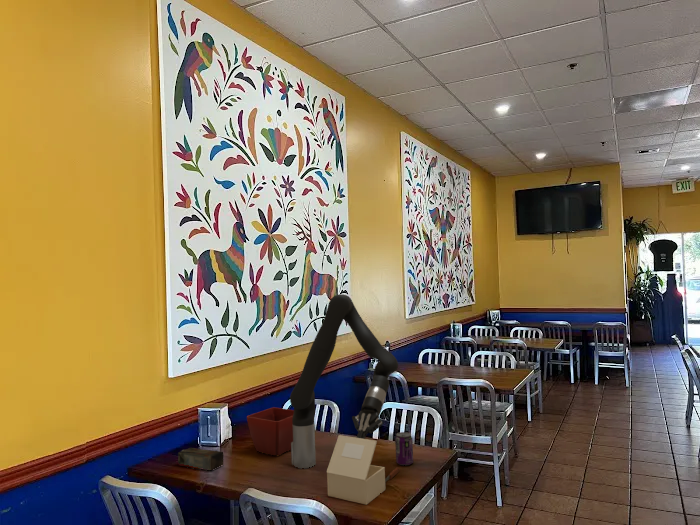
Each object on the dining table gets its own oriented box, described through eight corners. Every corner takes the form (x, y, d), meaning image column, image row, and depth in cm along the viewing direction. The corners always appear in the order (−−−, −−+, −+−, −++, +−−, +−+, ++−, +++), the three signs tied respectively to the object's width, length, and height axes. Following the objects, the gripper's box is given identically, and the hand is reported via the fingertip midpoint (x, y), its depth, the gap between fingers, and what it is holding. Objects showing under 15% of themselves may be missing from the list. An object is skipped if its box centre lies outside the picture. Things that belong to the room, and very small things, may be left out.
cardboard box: (327, 495, 180) (327, 473, 181) (348, 481, 192) (347, 460, 193) (366, 504, 172) (365, 480, 172) (385, 489, 184) (384, 467, 184)
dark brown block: (190, 460, 223) (190, 445, 223) (224, 466, 215) (224, 450, 215) (177, 466, 216) (177, 450, 216) (212, 472, 208) (211, 456, 208)
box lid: (327, 472, 181) (326, 472, 180) (339, 435, 189) (338, 434, 188) (365, 480, 172) (364, 479, 172) (377, 441, 180) (376, 440, 180)
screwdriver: (396, 471, 201) (396, 466, 202) (400, 471, 201) (399, 466, 201) (380, 486, 188) (380, 480, 188) (384, 486, 187) (383, 481, 187)
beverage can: (412, 466, 205) (411, 437, 206) (395, 466, 207) (394, 436, 207) (413, 460, 212) (412, 432, 213) (397, 460, 214) (396, 431, 214)
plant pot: (305, 447, 234) (304, 411, 235) (278, 460, 218) (277, 421, 219) (274, 441, 245) (273, 406, 245) (246, 453, 229) (245, 416, 229)
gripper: (355, 394, 198) (340, 434, 187) (385, 397, 191) (371, 439, 180) (363, 404, 202) (348, 444, 191) (392, 408, 195) (378, 449, 184)
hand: (359, 441), depth 185 cm, fingers closed
